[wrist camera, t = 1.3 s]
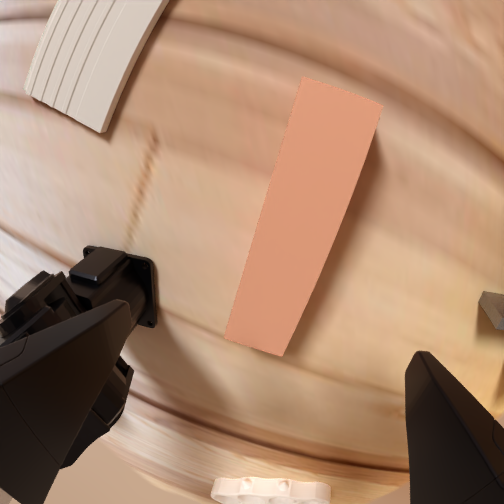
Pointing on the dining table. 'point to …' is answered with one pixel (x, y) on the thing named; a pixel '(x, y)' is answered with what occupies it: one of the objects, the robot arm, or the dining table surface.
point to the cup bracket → (493, 308)
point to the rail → (301, 212)
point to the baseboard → (90, 56)
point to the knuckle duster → (269, 491)
